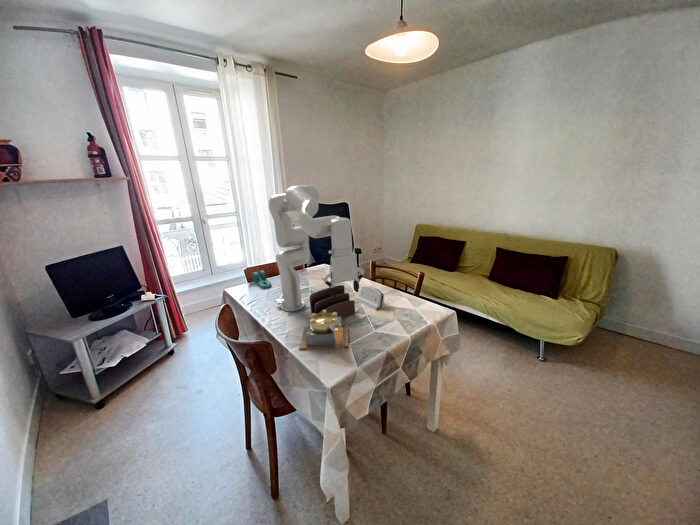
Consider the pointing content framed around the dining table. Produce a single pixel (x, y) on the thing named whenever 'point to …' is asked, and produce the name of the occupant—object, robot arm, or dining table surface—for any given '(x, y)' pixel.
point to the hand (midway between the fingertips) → (345, 293)
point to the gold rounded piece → (328, 326)
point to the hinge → (371, 297)
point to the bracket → (261, 280)
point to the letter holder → (332, 302)
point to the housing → (322, 338)
